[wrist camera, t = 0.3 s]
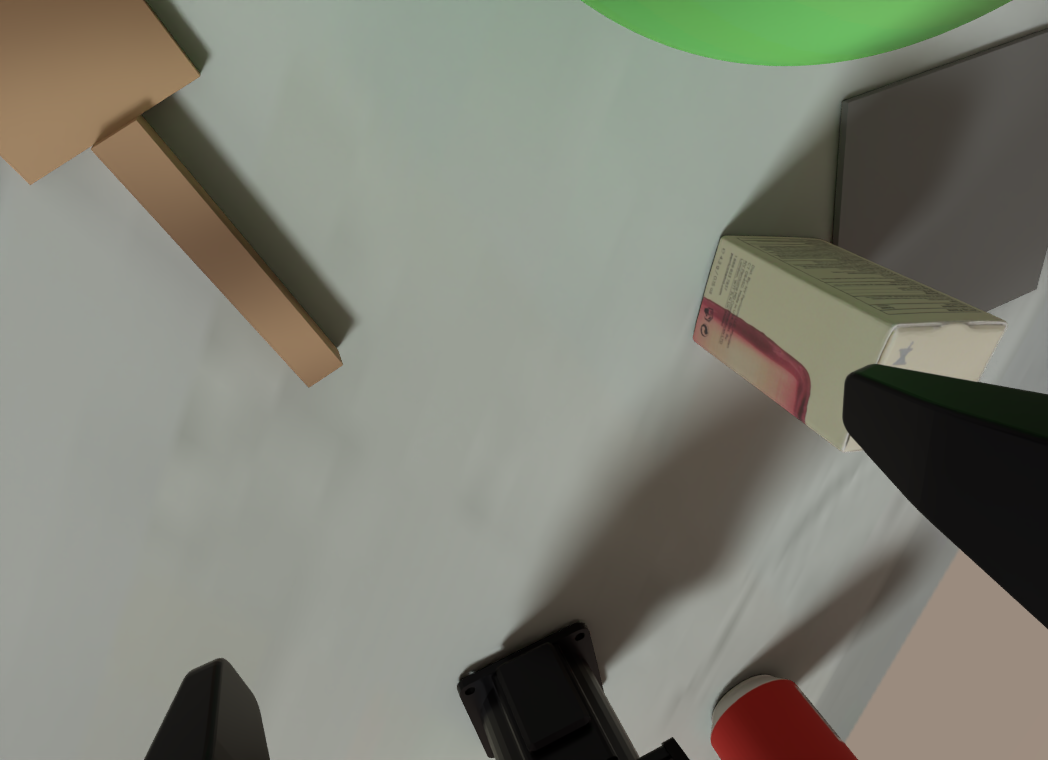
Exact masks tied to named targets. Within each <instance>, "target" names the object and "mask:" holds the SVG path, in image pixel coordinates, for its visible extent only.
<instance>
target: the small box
mask: <svg viewBox="0 0 1048 760" xmlns="http://www.w3.org/2000/svg"><path fill="white" fill-rule="evenodd" d="M1007 327H1008V324H1007V322H1006V321H1004V320H1002V319H1000V318H998V317H996V316H993V315H991V314H989V313H987V312H985V311H982V310H980V309H978V308H976V307H973V306H971V305H969V304H967V303H965V302H962V301H960V300H958V299H956V298H953V297H951V296H949V295H947V294H944V293H942V292H940V291H937V290H935V289H933V288H931V287H928V286H926V285H924V284H922V283H919V282H917V281H915V280H912V279H910V278H908V277H905V276H903V275H901V274H899V273H896V272H894V271H892V270H890V269H887V268H885V267H883V266H881V265H878V264H876V263H874V262H872V261H869V260H867V259H865V258H863V257H860V256H858V255H856V254H854V253H852V252H849V251H847V250H845V249H843V248H840V247H838V246H836V245H833V244H831V243H829V242H827V241H825V240H822V239H814V238H799V237H769V236H723V237H721V239H720V242H719V245H718V249H717V252H716V255H715V259H714V262H713V265H712V268H711V272H710V275H709V278H708V282H707V286H706V289H705V293H704V297H703V301H702V304H701V308H700V312H699V316H698V319H697V323H696V327H695V331H694V335H693V340H694V341H695V342H696V343H697V344H699V345H700V346H701V347H703V348H704V349H705V350H707V351H708V352H709V353H710V354H712V355H713V356H715V357H716V358H717V359H719V360H720V361H721V362H723V363H724V364H725V365H726V366H728V367H729V368H731V369H732V370H733V371H734V372H736V373H737V374H739V375H740V376H741V377H743V378H744V379H745V380H747V381H748V382H750V383H751V384H752V385H754V386H755V387H756V388H758V389H759V390H760V391H762V392H763V393H764V394H766V395H767V396H768V397H770V398H771V399H772V400H774V401H775V402H776V403H778V404H779V405H780V406H782V407H783V408H784V409H786V410H787V411H788V412H789V413H791V414H792V415H794V416H795V417H796V418H798V419H799V420H800V421H802V422H803V423H804V424H806V425H807V426H808V427H809V428H811V429H812V430H814V431H815V432H816V433H817V434H819V435H820V436H821V437H823V438H824V439H825V440H827V441H828V442H829V443H831V444H832V445H833V446H835V447H836V448H837V449H838V450H840V451H842V452H855V451H864V450H863V449H862V448H861V447H860V446H859V445H858V444H857V443H856V441H855V440H854V439H853V438H852V437H851V436H850V435H849V433H848V432H847V430H846V429H845V426H844V424H843V420H842V411H843V395H844V382H845V379H846V377H847V375H848V374H850V373H851V372H853V371H856V370H858V369H860V368H862V367H864V366H867V365H870V364H881V365H886V366H892V367H897V368H903V369H908V370H914V371H920V372H925V373H931V374H936V375H942V376H948V377H953V378H959V379H964V380H970V381H976V382H978V381H979V379H980V377H981V375H982V374H983V372H984V370H985V368H986V366H987V364H988V362H989V361H990V359H991V357H992V355H993V353H994V351H995V349H996V347H997V345H998V343H999V342H1000V340H1001V338H1002V336H1003V334H1004V333H1005V331H1006V329H1007Z"/></svg>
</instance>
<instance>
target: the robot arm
mask: <svg viewBox="0 0 1048 760" xmlns="http://www.w3.org/2000/svg"><path fill="white" fill-rule="evenodd" d="M842 420H843V424H844V426H845V429H846V430H847V432H848V433H849V435H850V436H851V437H852V438H853V439H854V440H855V441H856V443H857V444H858V445H859V446H860V447H861V448H862V449H863V450H864V451H865V453H866V454H867V455H868V456H869V457H870V458H871V459H872V460H873V461H874V463H875V464H876V465H877V466H878V467H879V468H880V469H881V470H882V471H883V473H884V474H885V475H886V476H887V477H888V478H889V479H890V480H891V481H892V483H893V484H894V485H895V486H896V487H897V488H898V489H899V490H900V491H901V492H902V494H903V495H904V496H905V497H906V498H907V499H908V500H909V501H910V502H911V503H912V504H913V505H914V506H915V507H916V508H917V510H918V511H919V512H920V513H922V514H923V515H924V516H925V517H926V518H927V519H928V520H929V521H930V522H931V523H932V524H933V525H934V526H935V527H936V528H937V529H939V530H940V531H941V532H942V533H943V534H944V535H945V536H946V537H947V538H948V539H950V540H951V541H952V542H953V543H954V544H955V545H956V546H957V547H958V548H959V549H961V550H962V551H963V552H964V553H965V554H966V555H967V556H968V557H969V558H970V559H972V560H973V561H974V562H975V563H976V564H977V565H978V566H979V567H980V568H981V569H983V570H984V571H985V572H986V573H987V574H988V575H989V576H990V577H991V578H992V579H993V580H995V581H996V582H997V583H998V584H999V585H1000V586H1001V587H1002V588H1003V589H1004V590H1005V591H1007V592H1008V593H1009V594H1010V595H1011V596H1012V597H1013V598H1014V599H1015V600H1017V601H1018V602H1019V603H1020V604H1021V605H1022V606H1023V607H1024V608H1025V609H1026V610H1027V611H1029V612H1030V613H1031V614H1032V615H1033V616H1034V617H1035V618H1036V619H1037V620H1038V621H1040V622H1041V623H1042V624H1043V625H1044V626H1045V627H1046V628H1047V629H1048V394H1043V393H1037V392H1031V391H1026V390H1020V389H1015V388H1009V387H1003V386H998V385H992V384H987V383H981V382H976V381H970V380H964V379H959V378H953V377H948V376H942V375H936V374H931V373H925V372H920V371H914V370H908V369H903V368H897V367H892V366H886V365H881V364H870V365H867V366H864V367H862V368H860V369H858V370H856V371H853V372H851V373H850V374H848V375H847V377H846V379H845V382H844V395H843V411H842ZM457 690H458V693H459V695H460V698H461V700H462V702H463V704H464V706H465V708H466V711H467V713H468V715H469V717H470V719H471V721H472V724H473V726H474V728H475V730H476V732H477V734H478V736H479V739H480V741H481V743H482V745H483V747H484V749H485V751H486V754H487V756H488V757H489V758H495V759H496V760H689V758H688V757H687V756H686V754H685V753H684V751H683V750H682V749H681V747H680V746H679V745H678V743H677V742H676V741H675V739H674V738H673V737H672V738H670V739H668V740H666V741H664V742H663V743H662V746H660V747H658V748H657V749H655V750H653V751H651V752H649V753H647V754H646V755H644V756H642V757H639V755H638V753H637V752H636V750H635V748H634V746H633V744H632V743H631V741H630V739H629V737H628V735H627V734H626V732H625V730H624V728H623V726H622V725H621V723H620V721H619V719H618V717H617V715H616V714H615V712H614V710H613V708H612V706H611V705H610V703H609V701H608V699H607V697H606V696H605V694H604V691H603V687H602V682H601V678H600V674H599V670H598V666H597V662H596V657H595V653H594V649H593V645H592V641H591V637H590V633H589V631H588V629H587V627H586V625H585V624H584V623H582V622H578V623H575V624H573V625H571V626H569V627H567V628H565V629H563V630H561V631H559V632H557V633H555V634H553V635H551V636H549V637H547V638H545V639H543V640H541V641H538V642H536V643H534V644H532V645H530V646H528V647H526V648H524V649H522V650H520V651H518V652H516V653H514V654H512V655H510V656H508V657H506V658H504V659H502V660H500V661H498V662H496V663H494V664H492V665H490V666H488V667H486V668H484V669H482V670H480V671H478V672H475V673H473V674H471V675H469V676H467V677H465V678H464V679H462V680H461V681H460V682H459V683H458V685H457ZM144 760H270V757H269V752H268V748H267V743H266V738H265V733H264V728H263V723H262V718H261V713H260V709H259V706H258V703H257V701H256V698H255V696H254V695H253V693H252V692H251V690H250V689H249V688H248V686H247V685H246V684H245V682H244V681H243V680H242V678H241V677H240V676H239V674H238V673H237V672H236V671H235V669H234V668H233V667H232V665H231V664H230V663H229V662H228V661H227V660H226V659H224V658H218V659H215V660H213V661H211V662H208V663H206V664H204V665H202V666H200V667H197V668H195V669H193V670H191V671H190V672H189V673H188V674H187V675H186V676H185V678H184V679H183V681H182V683H181V685H180V687H179V690H178V692H177V694H176V696H175V698H174V700H173V702H172V704H171V706H170V708H169V710H168V712H167V714H166V716H165V718H164V720H163V722H162V724H161V726H160V728H159V730H158V732H157V734H156V736H155V738H154V740H153V742H152V744H151V746H150V748H149V751H148V753H147V755H146V757H145V759H144Z"/></svg>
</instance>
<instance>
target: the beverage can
mask: <svg viewBox="0 0 1048 760" xmlns="http://www.w3.org/2000/svg"><path fill="white" fill-rule="evenodd" d="M710 738H711V744H712V746H713V748H714V749H715V751H716V752H717V754H718V755H719V757H720V759H721V760H858V759H857V758H856V757H855V756H854V754H853V753H852V752H851V751H850V749H849V748H848V747H847V746H846V744H845V743H844V742H843V741H842V740H841V738H840V737H839V736H838V735H837V734H836V732H835V731H834V730H833V729H832V727H831V726H830V725H829V724H828V723H827V721H826V720H825V719H824V718H823V716H822V715H821V714H820V713H819V712H818V710H817V709H816V708H815V707H814V706H813V704H812V703H811V702H810V701H809V699H808V698H807V697H806V696H805V695H804V693H803V692H802V691H801V690H800V688H799V687H798V686H797V685H796V684H795V683H794V682H793V681H791V680H788V679H783V678H776V677H773V676H771V675H758V676H754V677H751V678H749V679H747V680H745V681H743V682H741V683H739V684H738V685H736V686H735V687H734V688H732V689H731V690H730V691H729V692H728V693H727V694H725V695H724V696H723V698H722V699H721V700H720V701H719V702H718V704H717V706H716V707H715V709H714V711H713V714H712V730H711V737H710Z"/></svg>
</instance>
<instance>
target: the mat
mask: <svg viewBox="0 0 1048 760" xmlns="http://www.w3.org/2000/svg"><path fill="white" fill-rule="evenodd" d="M833 245H836V246H838V247H840V248H843V249H845V250H847V251H849V252H852V253H854V254H856V255H858V256H860V257H863V258H865V259H867V260H869V261H872V262H874V263H876V264H878V265H881V266H883V267H885V268H887V269H890V270H892V271H894V272H896V273H899V274H901V275H903V276H905V277H908V278H910V279H912V280H915V281H917V282H919V283H922V284H924V285H926V286H928V287H931V288H933V289H935V290H937V291H940V292H942V293H944V294H947V295H949V296H951V297H953V298H956V299H958V300H960V301H962V302H965V303H967V304H969V305H971V306H973V307H976V308H978V309H980V310H982V311H985V312H987V311H989V310H991V309H993V308H996V307H998V306H1000V305H1002V304H1004V303H1007V302H1009V301H1011V300H1013V299H1016V298H1018V297H1020V296H1022V295H1024V294H1027V293H1029V292H1031V291H1033V290H1035V289H1037V285H1038V281H1039V277H1040V274H1041V270H1042V266H1043V262H1044V258H1045V255H1046V251H1047V247H1048V29H1045V30H1042V31H1039V32H1037V33H1034V34H1031V35H1028V36H1025V37H1023V38H1020V39H1017V40H1014V41H1011V42H1008V43H1006V44H1003V45H1000V46H997V47H994V48H991V49H989V50H986V51H983V52H980V53H977V54H974V55H972V56H969V57H966V58H963V59H960V60H958V61H955V62H952V63H949V64H946V65H943V66H941V67H938V68H935V69H932V70H929V71H926V72H924V73H921V74H918V75H915V76H912V77H909V78H907V79H904V80H901V81H898V82H895V83H893V84H890V85H887V86H884V87H881V88H878V89H876V90H873V91H870V92H867V93H864V94H861V95H859V96H856V97H853V98H850V99H847V100H844V101H842V108H841V123H840V138H839V153H838V168H837V183H836V199H835V214H834V229H833Z"/></svg>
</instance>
